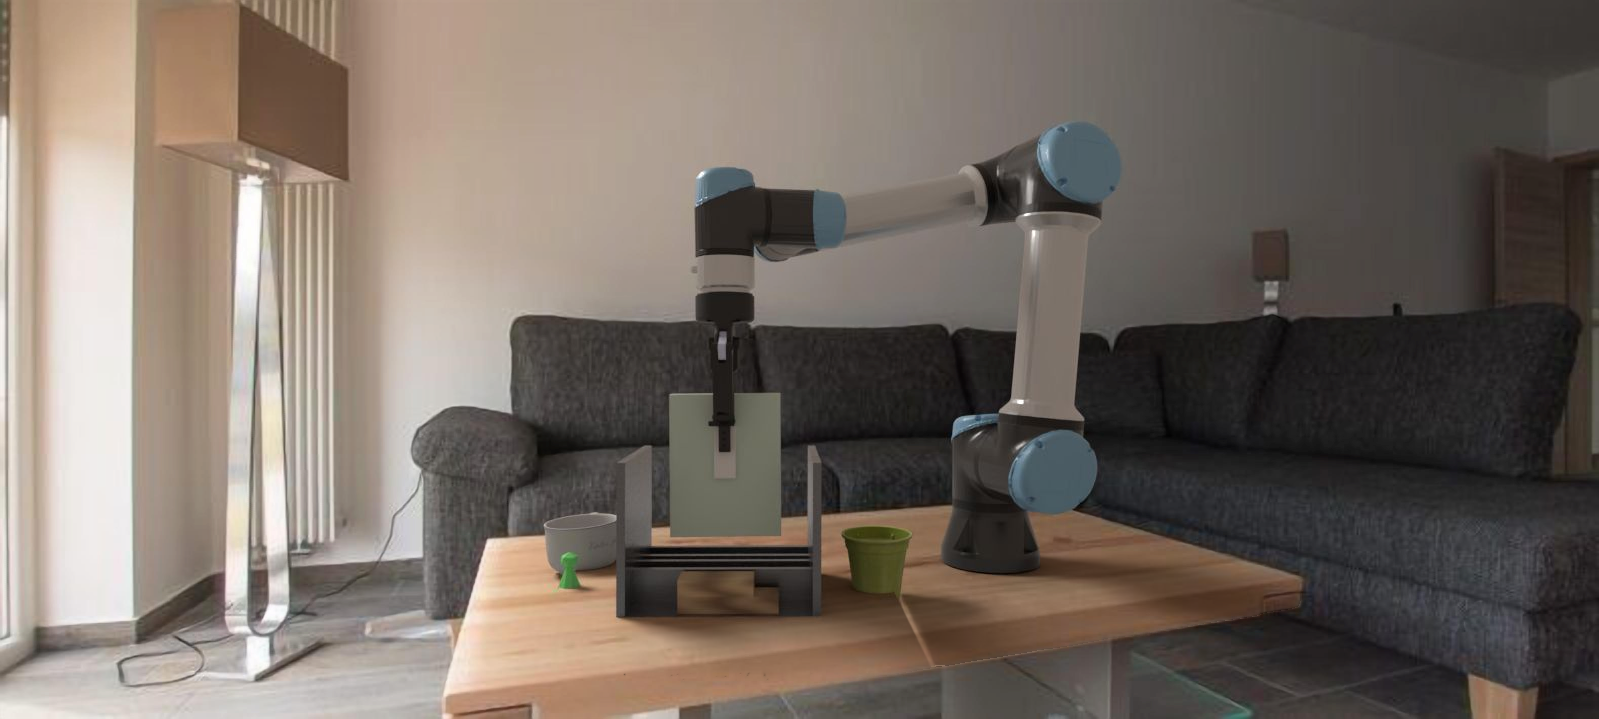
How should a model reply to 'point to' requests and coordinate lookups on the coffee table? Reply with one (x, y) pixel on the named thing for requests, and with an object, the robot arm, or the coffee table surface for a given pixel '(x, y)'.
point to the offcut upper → (716, 584)
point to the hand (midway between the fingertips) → (726, 475)
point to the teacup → (582, 540)
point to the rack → (706, 553)
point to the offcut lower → (732, 603)
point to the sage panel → (725, 501)
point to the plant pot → (877, 557)
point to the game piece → (569, 572)
